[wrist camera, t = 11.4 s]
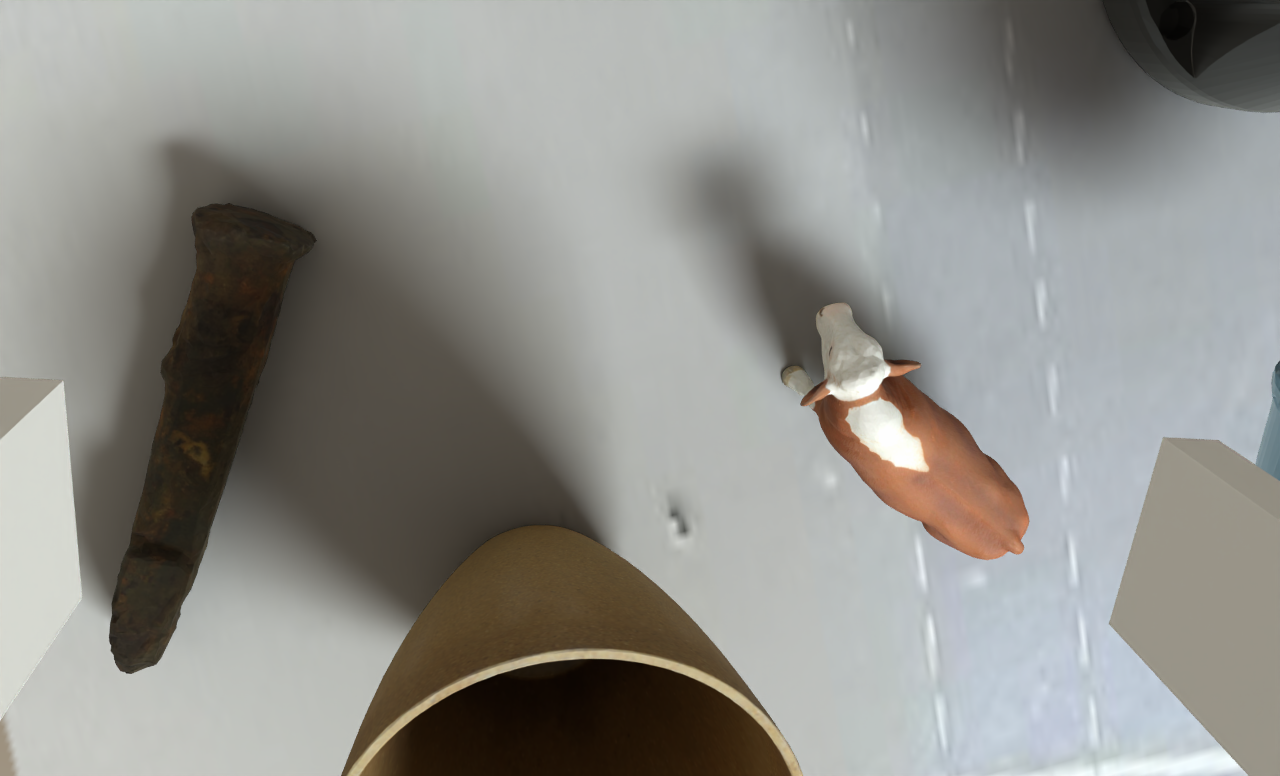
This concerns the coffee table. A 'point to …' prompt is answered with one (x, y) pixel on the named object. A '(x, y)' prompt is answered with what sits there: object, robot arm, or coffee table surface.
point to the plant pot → (561, 677)
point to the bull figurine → (908, 443)
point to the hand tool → (201, 417)
